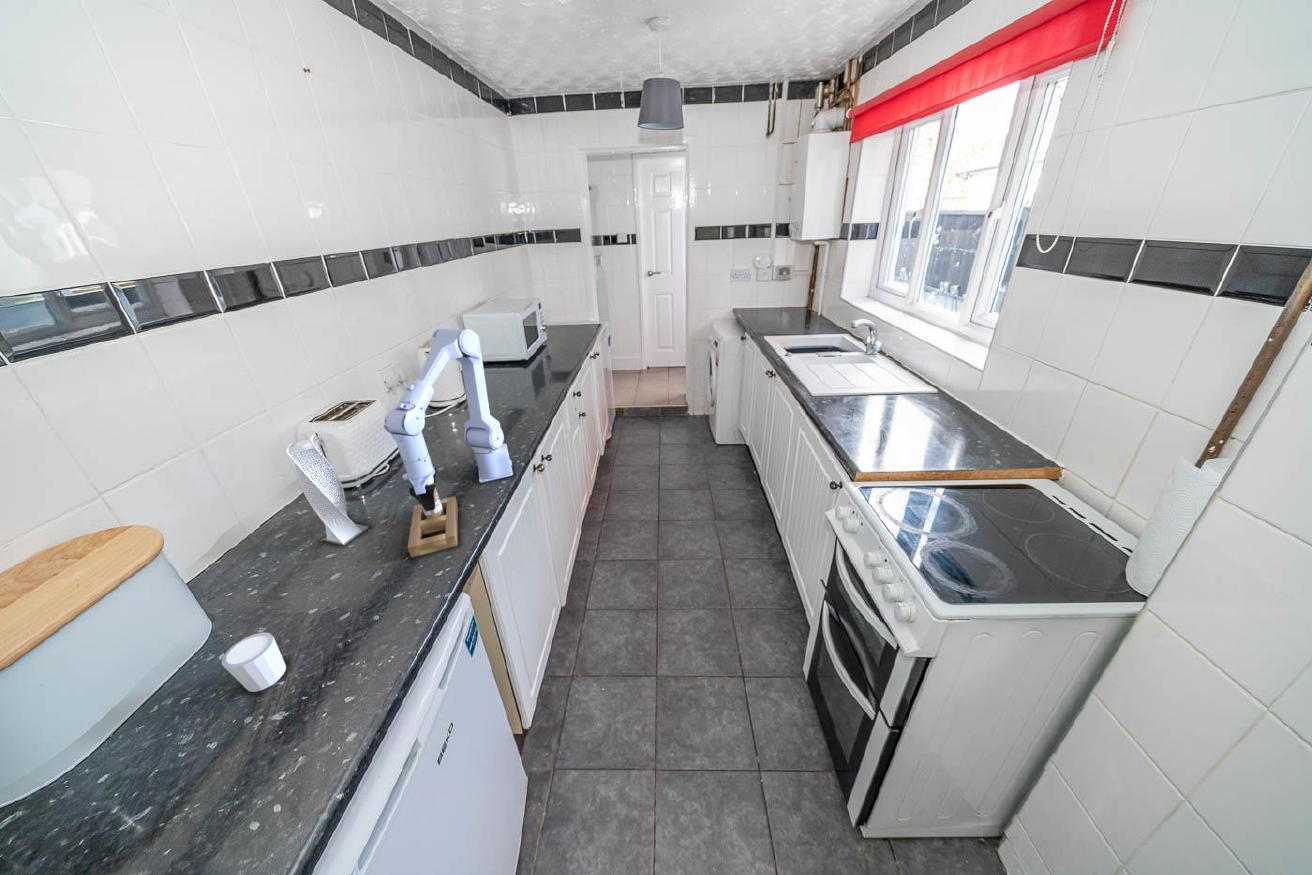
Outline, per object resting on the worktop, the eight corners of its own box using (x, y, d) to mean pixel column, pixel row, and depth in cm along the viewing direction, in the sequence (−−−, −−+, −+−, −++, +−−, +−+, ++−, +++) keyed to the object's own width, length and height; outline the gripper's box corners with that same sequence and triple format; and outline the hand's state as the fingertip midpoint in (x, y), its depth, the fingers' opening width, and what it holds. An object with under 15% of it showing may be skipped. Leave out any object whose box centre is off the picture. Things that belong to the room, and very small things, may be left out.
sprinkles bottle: (447, 521, 116) (433, 476, 110) (428, 528, 114) (412, 483, 107) (444, 513, 119) (430, 469, 113) (425, 519, 117) (410, 475, 111)
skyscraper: (373, 528, 115) (331, 429, 102) (344, 549, 108) (295, 446, 95) (348, 523, 117) (305, 425, 104) (319, 543, 110) (268, 441, 98)
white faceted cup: (259, 660, 81) (241, 633, 78) (299, 656, 81) (282, 629, 78) (230, 697, 75) (209, 670, 72) (273, 693, 75) (254, 665, 72)
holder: (457, 505, 122) (454, 496, 121) (457, 545, 107) (454, 535, 106) (417, 514, 119) (414, 505, 118) (411, 557, 104) (407, 547, 103)
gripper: (400, 447, 113) (416, 492, 119) (393, 474, 100) (411, 523, 107) (431, 441, 115) (445, 486, 121) (427, 467, 103) (443, 516, 109)
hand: (431, 503), depth 114 cm, fingers open, 5 cm apart
